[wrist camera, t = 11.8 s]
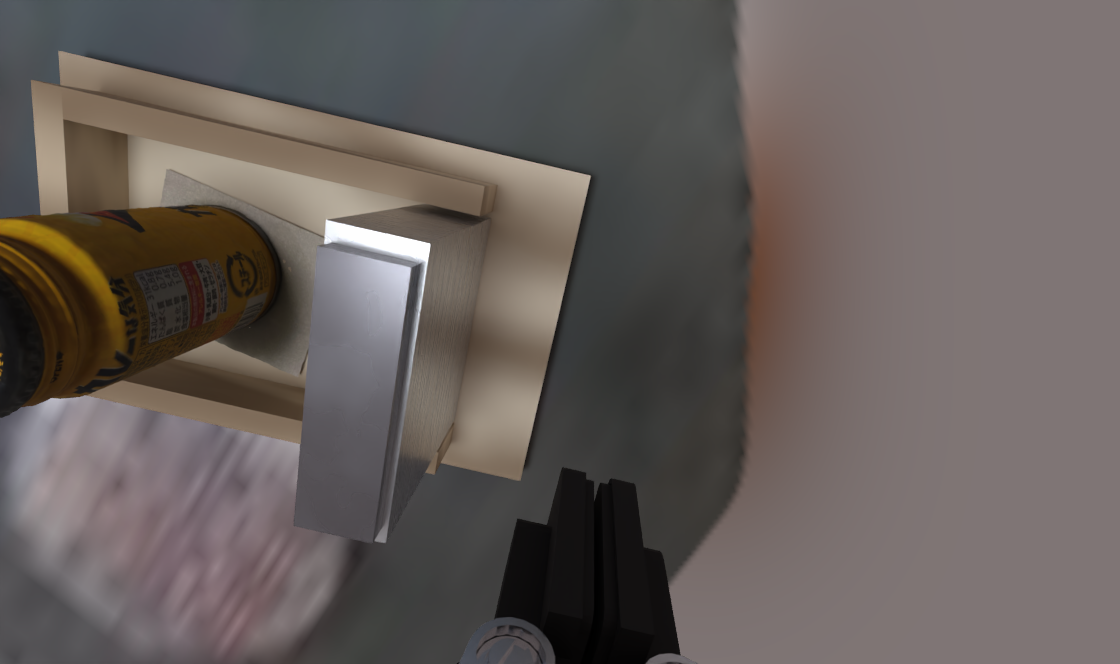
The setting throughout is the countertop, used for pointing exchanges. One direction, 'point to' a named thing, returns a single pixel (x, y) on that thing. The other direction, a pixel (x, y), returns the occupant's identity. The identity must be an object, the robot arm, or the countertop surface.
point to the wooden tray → (307, 202)
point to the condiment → (148, 291)
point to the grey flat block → (384, 362)
